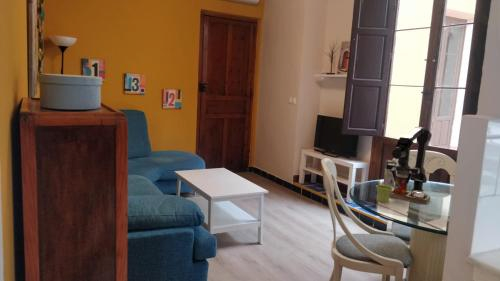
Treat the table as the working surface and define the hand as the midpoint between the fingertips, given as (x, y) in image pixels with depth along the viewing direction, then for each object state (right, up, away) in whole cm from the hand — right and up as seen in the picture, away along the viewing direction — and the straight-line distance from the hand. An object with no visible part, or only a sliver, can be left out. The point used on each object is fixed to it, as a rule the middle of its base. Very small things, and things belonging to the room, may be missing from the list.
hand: (401, 182), depth 247 cm
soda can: (0, -8, +1) cm, 8 cm away
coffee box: (+4, -5, +34) cm, 34 cm away
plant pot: (-15, -10, -11) cm, 21 cm away
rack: (+4, -10, -2) cm, 10 cm away
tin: (+8, -10, -5) cm, 14 cm away
